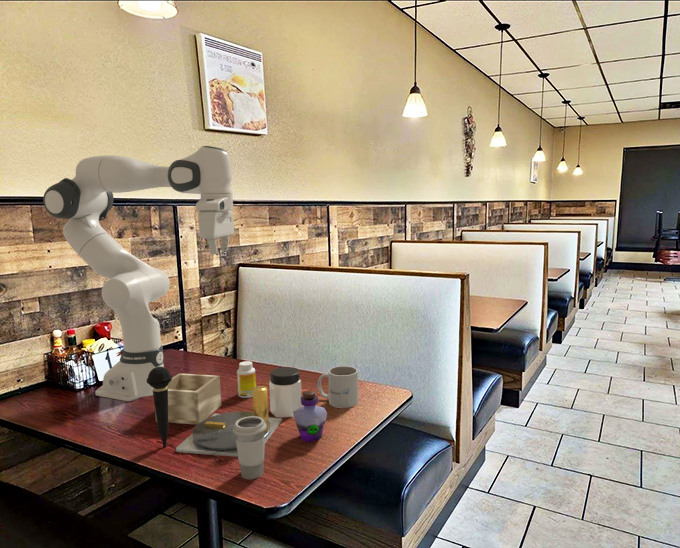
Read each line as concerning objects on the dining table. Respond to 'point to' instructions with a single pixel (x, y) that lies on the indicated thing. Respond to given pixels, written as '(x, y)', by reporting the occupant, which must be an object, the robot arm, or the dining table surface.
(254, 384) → the supplement bottle
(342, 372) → the mug
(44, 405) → the dining table surface
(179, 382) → the open wooden box
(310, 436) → the potion bottle
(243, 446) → the cup
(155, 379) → the microphone
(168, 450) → the dining table surface
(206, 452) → the base
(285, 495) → the dining table surface
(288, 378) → the jar
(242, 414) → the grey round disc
